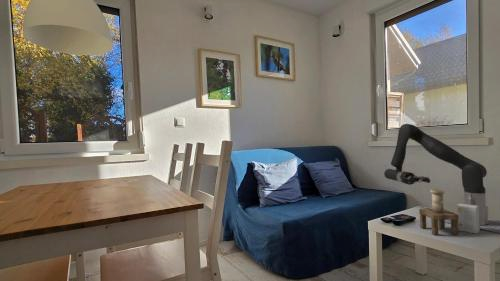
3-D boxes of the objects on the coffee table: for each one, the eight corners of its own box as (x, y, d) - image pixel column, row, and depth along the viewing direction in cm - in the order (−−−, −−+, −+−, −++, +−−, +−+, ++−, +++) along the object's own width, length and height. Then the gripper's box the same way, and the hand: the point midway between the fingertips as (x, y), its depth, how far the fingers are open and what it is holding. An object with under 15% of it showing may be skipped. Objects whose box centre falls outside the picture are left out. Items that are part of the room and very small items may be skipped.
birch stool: (439, 210, 141) (439, 189, 140) (447, 213, 135) (447, 191, 134) (428, 210, 141) (427, 189, 141) (435, 213, 135) (435, 191, 135)
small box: (479, 231, 136) (479, 205, 136) (476, 234, 132) (476, 208, 132) (460, 227, 142) (459, 203, 142) (456, 230, 138) (456, 205, 138)
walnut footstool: (442, 227, 144) (441, 208, 143) (459, 235, 132) (458, 215, 131) (419, 227, 144) (419, 209, 144) (434, 235, 132) (433, 215, 132)
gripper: (394, 172, 167) (408, 175, 151) (417, 171, 167) (434, 174, 151) (394, 184, 167) (409, 188, 151) (417, 183, 167) (434, 187, 151)
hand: (421, 181), depth 151 cm, fingers open, 8 cm apart
